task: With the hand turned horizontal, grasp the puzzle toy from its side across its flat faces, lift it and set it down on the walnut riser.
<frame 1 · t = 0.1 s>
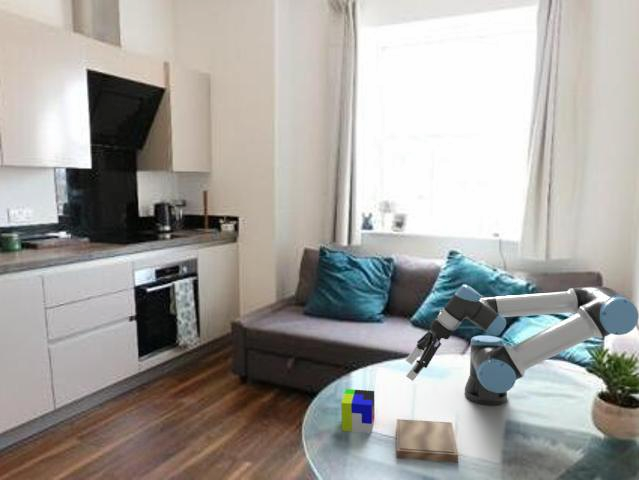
hand: (408, 370, 170), 15 cm above the table, tool tilted 35°, fingers open, 13 cm apart
puzzle toy: (358, 424, 164), on the table
walnut riser: (425, 443, 152), on the table
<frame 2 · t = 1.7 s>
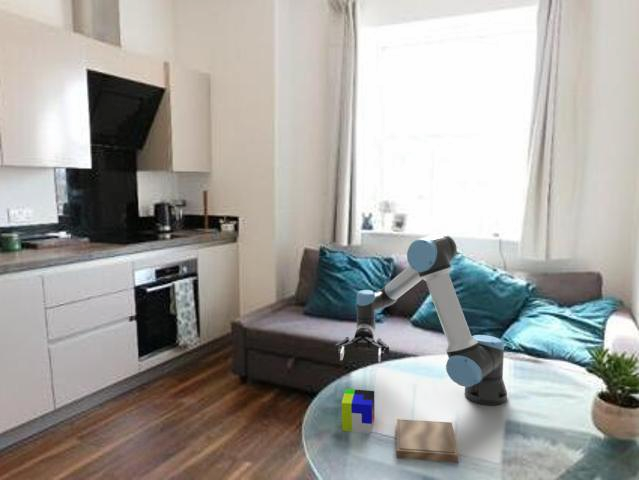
hand: (360, 357, 170), 20 cm above the table, tool horizontal, fingers open, 13 cm apart
nothing on the table moved.
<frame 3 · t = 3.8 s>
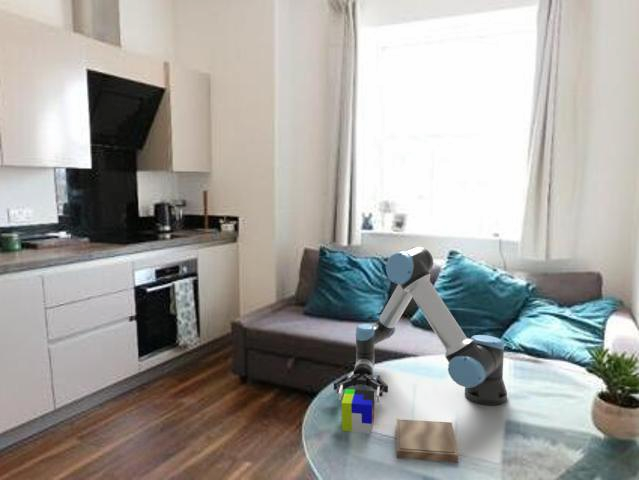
hand: (358, 397, 170), 6 cm above the table, tool horizontal, fingers open, 13 cm apart
nothing on the table moved.
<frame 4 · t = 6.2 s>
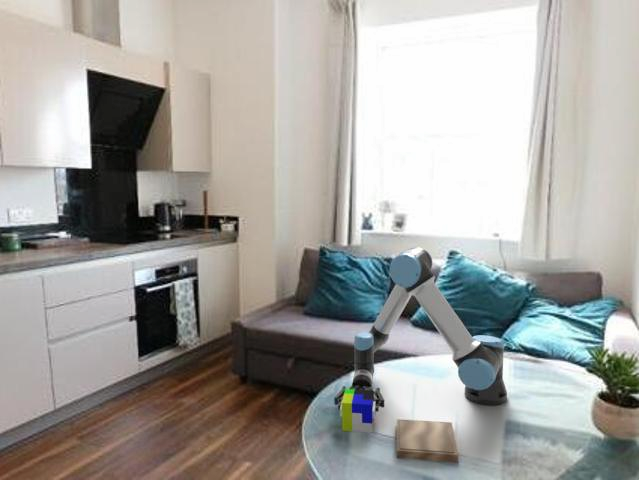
hand: (357, 413, 159), 6 cm above the table, tool horizontal, fingers closed on puzzle toy, 10 cm apart
puzzle toy: (358, 424, 164), on the table, touching gripper
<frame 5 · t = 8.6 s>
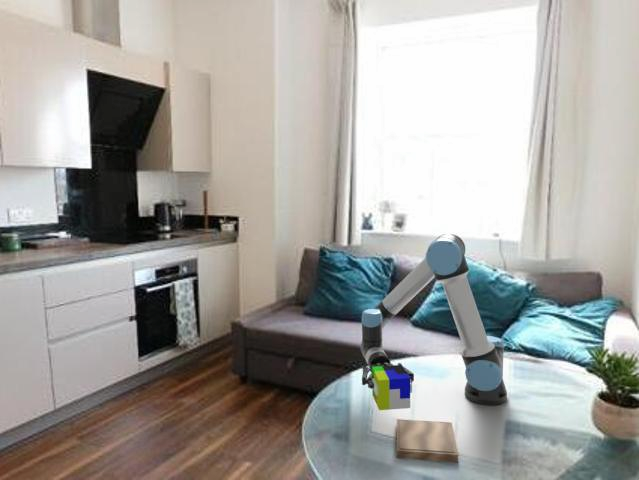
hand: (394, 389, 150), 18 cm above the table, tool horizontal, fingers closed on puzzle toy, 10 cm apart
puzzle toy: (390, 402, 155), point 12 cm above the table, touching gripper
when the fingers open (10 cm above the table, at t = 11.4 s): puzzle toy drops 1 cm, resting on walnut riser.
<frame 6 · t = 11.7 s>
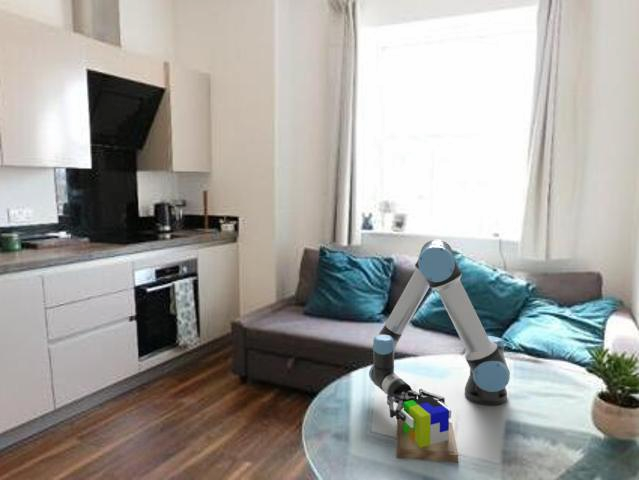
hand: (431, 419, 147), 10 cm above the table, tool horizontal, fingers open, 13 cm apart
puzzle toy: (425, 436, 151), point 2 cm above the table, touching walnut riser
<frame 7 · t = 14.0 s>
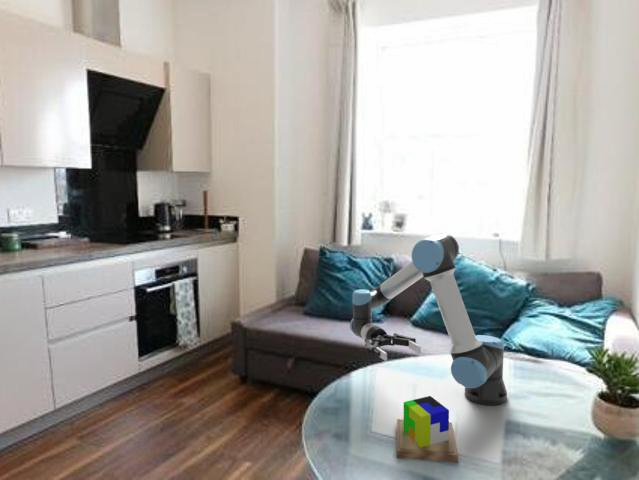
hand: (403, 353, 167), 22 cm above the table, tool horizontal, fingers open, 13 cm apart
nothing on the table moved.
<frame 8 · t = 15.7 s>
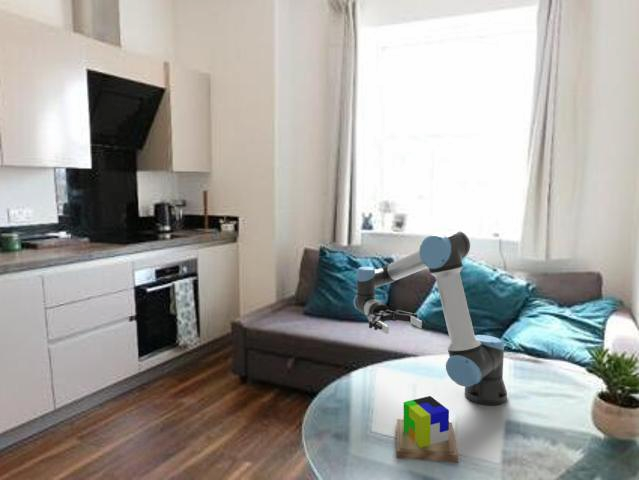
hand: (404, 327, 170), 30 cm above the table, tool horizontal, fingers open, 13 cm apart
nothing on the table moved.
at the end: puzzle toy inside the target area on the walnut riser (0.1 cm from its centre), point 2.5 cm above the walnut riser's base; puzzle toy tilted 0°; the gripper is holding nothing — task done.
